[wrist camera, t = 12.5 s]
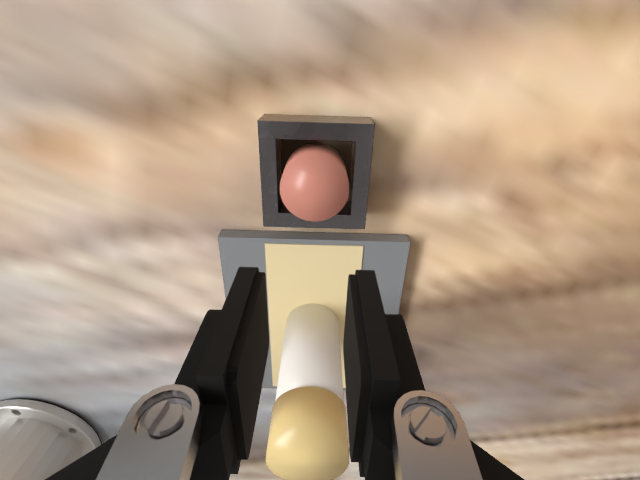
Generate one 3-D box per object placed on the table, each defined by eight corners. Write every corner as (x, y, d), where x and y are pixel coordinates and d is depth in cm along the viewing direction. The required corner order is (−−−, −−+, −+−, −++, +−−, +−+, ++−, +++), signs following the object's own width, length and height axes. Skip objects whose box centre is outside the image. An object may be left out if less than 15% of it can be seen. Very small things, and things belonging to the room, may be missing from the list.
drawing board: (383, 380, 34) (385, 391, 33) (239, 376, 34) (236, 388, 33) (406, 234, 26) (410, 242, 25) (222, 229, 26) (217, 237, 25)
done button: (344, 203, 24) (347, 222, 21) (285, 201, 24) (280, 220, 21) (348, 143, 22) (351, 156, 19) (284, 142, 22) (278, 154, 19)
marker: (338, 345, 30) (346, 484, 20) (285, 344, 30) (267, 483, 20) (341, 303, 28) (351, 436, 18) (284, 301, 28) (263, 434, 18)
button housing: (361, 214, 26) (364, 229, 23) (268, 211, 26) (263, 226, 23) (369, 117, 22) (374, 123, 20) (264, 114, 22) (257, 120, 20)
